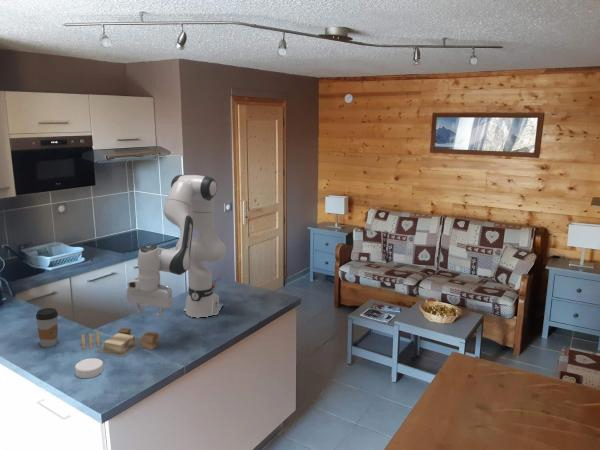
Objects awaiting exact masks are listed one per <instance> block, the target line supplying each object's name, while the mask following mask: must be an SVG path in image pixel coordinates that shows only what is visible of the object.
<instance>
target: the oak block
mask: <svg viewBox="0 0 600 450" xmlns="http://www.w3.org/2000/svg"><path fill="white" fill-rule="evenodd" d="M159 337H160V335H159V333H158V332H154V331H147V332H146V333H144V334H143V335H141V339H142V345H141V348H142V349H147V350H151V351H152V350H154V349H156V348H157V347H158V346H159V345H160V344H159V343H160V341H159V340H160V338H159Z"/></svg>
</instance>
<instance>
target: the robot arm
mask: <svg viewBox="0 0 600 450" xmlns="http://www.w3.org/2000/svg"><path fill="white" fill-rule="evenodd" d="M217 192H218V184H217V182H216V180H215V178H213V177H211V176H208V175H206V176H204V175H200V174H199V175H198V174H185V175H184V174H177V175H175V176H174V178H172V180H171V183H170V190H169V192H168V195H167V196H166V199H165V203H164V206H163V214H164V217H165V219H167V220H168V221H169V222H170V223H171V224H172V225H175V226H177V228H179V232H180V233H179V240H177V242H176V245H175V250H173V249H167V248H164V247H163V248H162V247H159V246H158V245H157V244H154V243H147V244H144V245H142V246H141V247H140V248H139V250H138V255H137V269H138V275H137V277H136V278H134V279H131V280H129V281H128V282H127V284H126V285H127V289H126V300H127V302H128V303H130V304H131V303H133V304H134V306H135V309H136V310H137V314H143V313H144V312H143V311H144V308H142V307H141V305H144V306H145V305H146V306H149V307H150V306H151V307H156V308H158V309H159V311H157V312H156V315H157V317H159V318H161V317H163V312H164V310H165V309H169V308H171V307H172V306H173V304H174V300H173V295H172V294H173V292H172V291H173V290H172V289H171V287H170V286H169V285H162V284H161V274H160V272H165V273H171V274H175V275H177V276H182V275H183V274H184V273H187V271H188V279H189V280H188V281H189V282H188V283H189V286H188V290H187V292H188V293H187V294H188V295H186V299H185V307H184V308H183V312H184V311H186V312H185V314H187V315H188V316H187V315H186V316H187V317H189V316H191V317H190V318H192V317H196V318H195V319H200V318H199V317H207V318H209V317H208V316H211V315H217V314H218V313H219V311H220V308H219V309H218V306H219V302H220V296H219V295H218V294H216V293H215V292H214V289H216V284H212V283H213V274H212V273H213V272H212V270H211V269H210V267H209V268H208V267H207V266H206V265H205V264H204V262H206V263H207V262H208V263H216V262H219V263H220V262H222V261H223V260H224V258H225V257H226V254H227V247H226V245H225V244H224V242H223V241H221V240H220V239H219V237H218V235H217V233H216V231H215V225H214V208H215V207H214V197H215V196H216V194H217ZM193 232H196V233H197V234H198V235H199V238H198V237H193ZM215 312H217V313H215ZM220 312H221V311H220ZM219 314H220V313H219ZM219 314H218V315H219Z"/></svg>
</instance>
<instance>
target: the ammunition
mask: <svg viewBox="0 0 600 450" xmlns="http://www.w3.org/2000/svg"><path fill="white" fill-rule="evenodd" d="M80 337H81V339H80V340H81V349H82V350H86V348H87V346H86V344H87V343H86V342H87V341H86V333H83V334H80ZM95 341H96V346H97V347H96V348H99V349H100V348H101V344H102V343H101V333H100V332H96V333H95ZM88 343H89V344H88V346H89V347H88V348H89V349H91V350H92V349H94V335H93V333H88Z"/></svg>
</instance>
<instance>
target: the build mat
mask: <svg viewBox="0 0 600 450" xmlns="http://www.w3.org/2000/svg"><path fill="white" fill-rule="evenodd" d="M140 347H142V337H135V345H133V346H132V347H131V348H129V349H128V350H126V351H125V352H123V353H122V354H121V355H120V354H115V353H110V352H105V351H104V345H103V346H102V347H99V349H97V350H95V351H94V353H97V354H102V355H106V356H112V357H115V358H116V357H117V358H122V359H124V358H126V357H127V356H129V355H130V354H131V353H134V351H136V350H137V349H138V348H140Z"/></svg>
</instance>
